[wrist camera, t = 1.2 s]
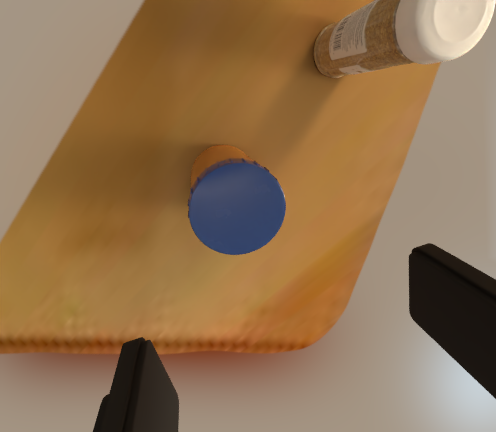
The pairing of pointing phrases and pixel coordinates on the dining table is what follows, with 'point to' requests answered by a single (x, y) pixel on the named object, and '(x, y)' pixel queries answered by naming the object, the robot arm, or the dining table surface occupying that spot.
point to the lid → (236, 206)
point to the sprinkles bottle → (401, 34)
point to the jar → (214, 158)
